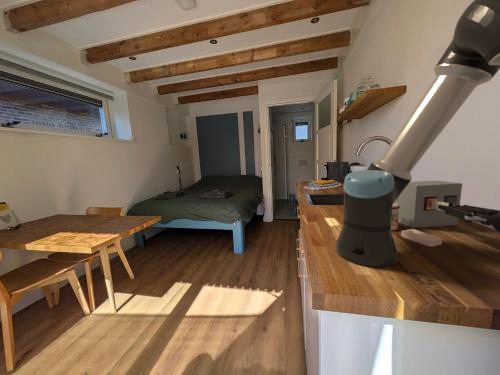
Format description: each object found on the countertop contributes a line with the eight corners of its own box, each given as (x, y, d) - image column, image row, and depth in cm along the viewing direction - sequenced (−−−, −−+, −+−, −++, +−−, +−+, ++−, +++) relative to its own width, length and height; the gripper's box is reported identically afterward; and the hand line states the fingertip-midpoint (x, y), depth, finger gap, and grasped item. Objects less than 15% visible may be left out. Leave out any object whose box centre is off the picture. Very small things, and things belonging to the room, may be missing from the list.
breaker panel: (414, 228, 75) (417, 186, 72) (392, 219, 85) (395, 182, 83) (458, 225, 76) (463, 183, 74) (432, 217, 86) (435, 180, 84)
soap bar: (429, 247, 60) (430, 240, 59) (400, 236, 68) (400, 230, 68) (442, 245, 61) (443, 237, 61) (411, 234, 70) (412, 228, 70)
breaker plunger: (426, 209, 74) (427, 199, 73) (403, 203, 84) (404, 194, 83) (436, 208, 74) (437, 198, 73) (412, 203, 84) (413, 193, 83)
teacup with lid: (393, 232, 71) (395, 200, 70) (366, 226, 78) (367, 197, 77) (404, 224, 79) (406, 195, 77) (378, 219, 86) (379, 193, 84)
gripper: (499, 241, 50) (415, 215, 74) (545, 237, 51) (448, 213, 74) (503, 212, 49) (417, 195, 72) (550, 209, 50) (450, 193, 73)
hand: (433, 204), depth 73 cm, fingers closed
